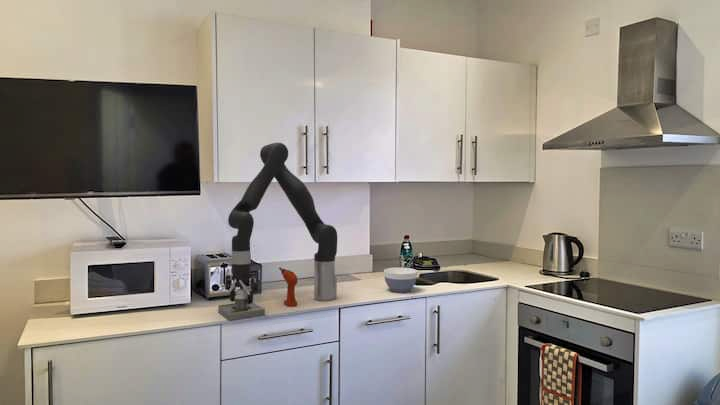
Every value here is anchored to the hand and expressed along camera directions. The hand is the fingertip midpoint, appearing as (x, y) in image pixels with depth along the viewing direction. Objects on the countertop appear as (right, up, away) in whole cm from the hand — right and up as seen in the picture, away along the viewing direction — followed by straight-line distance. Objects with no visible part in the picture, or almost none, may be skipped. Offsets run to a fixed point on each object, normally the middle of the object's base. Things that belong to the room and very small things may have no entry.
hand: (241, 302), depth 201 cm
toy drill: (+15, -4, +19) cm, 24 cm away
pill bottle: (0, -5, 0) cm, 5 cm away
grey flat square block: (0, -5, 0) cm, 5 cm away
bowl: (+67, -3, +43) cm, 79 cm away
